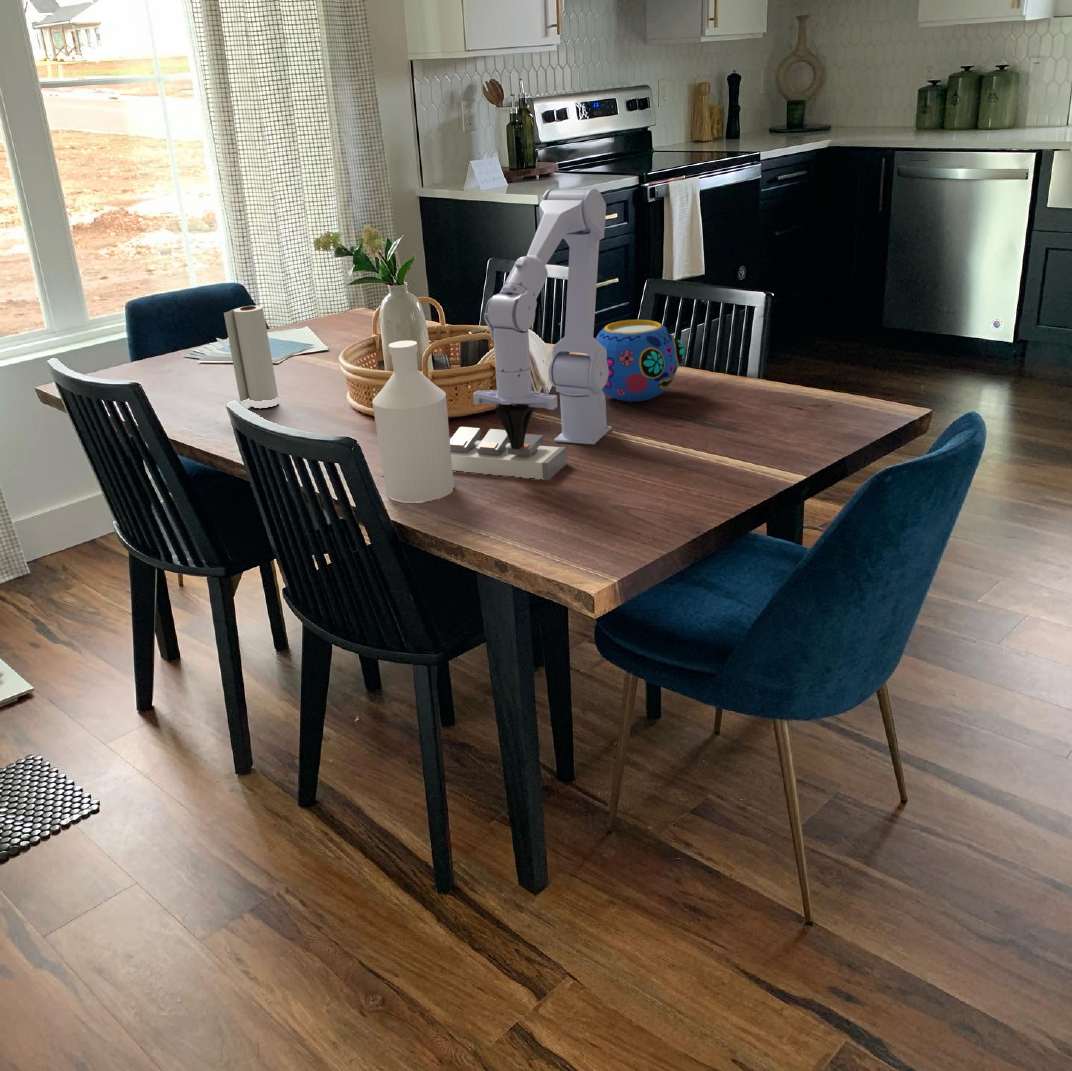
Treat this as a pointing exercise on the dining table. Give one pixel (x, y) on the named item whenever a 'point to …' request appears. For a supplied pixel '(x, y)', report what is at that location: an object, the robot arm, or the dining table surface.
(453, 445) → the block
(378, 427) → the bottle
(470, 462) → the power strip
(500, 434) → the rocker
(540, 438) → the rocker
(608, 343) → the ceramic pot
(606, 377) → the robot arm
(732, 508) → the dining table surface
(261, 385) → the paper towel roll
